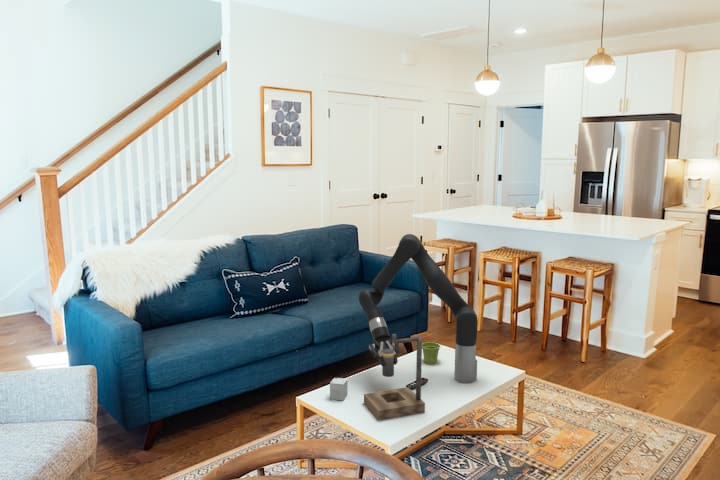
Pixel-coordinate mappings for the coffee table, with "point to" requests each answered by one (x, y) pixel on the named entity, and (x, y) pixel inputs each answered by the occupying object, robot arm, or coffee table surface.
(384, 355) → the banded grey cylinder
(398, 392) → the wooden gallows stand
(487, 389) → the coffee table surface
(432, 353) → the plant pot
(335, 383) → the skincare box
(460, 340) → the robot arm
